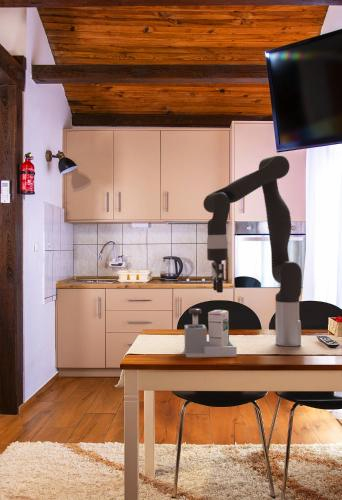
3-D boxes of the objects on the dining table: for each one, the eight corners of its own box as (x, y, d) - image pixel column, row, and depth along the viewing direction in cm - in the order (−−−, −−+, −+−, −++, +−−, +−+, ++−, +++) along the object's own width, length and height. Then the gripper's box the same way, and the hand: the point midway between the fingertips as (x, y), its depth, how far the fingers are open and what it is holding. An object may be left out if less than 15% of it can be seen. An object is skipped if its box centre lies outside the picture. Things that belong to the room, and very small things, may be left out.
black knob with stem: (200, 330, 177) (200, 308, 177) (201, 333, 173) (201, 310, 173) (188, 331, 177) (188, 308, 177) (189, 333, 173) (189, 310, 173)
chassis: (231, 349, 181) (231, 323, 181) (236, 356, 170) (236, 328, 170) (184, 350, 180) (184, 324, 180) (186, 357, 169) (186, 329, 169)
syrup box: (222, 352, 171) (222, 312, 171) (208, 350, 174) (208, 311, 174) (229, 349, 176) (229, 310, 176) (215, 347, 179) (214, 309, 179)
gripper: (230, 247, 168) (231, 293, 168) (224, 247, 182) (225, 289, 182) (209, 247, 168) (210, 293, 168) (204, 247, 182) (205, 289, 182)
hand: (218, 291), depth 175 cm, fingers open, 8 cm apart
